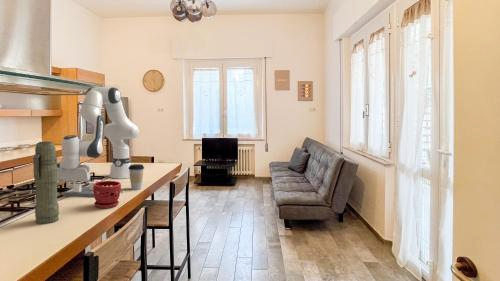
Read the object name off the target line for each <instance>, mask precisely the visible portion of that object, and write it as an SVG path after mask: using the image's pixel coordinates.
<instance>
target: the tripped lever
mask: <svg viewBox="0 0 500 281" xmlns="http://www.w3.org/2000/svg"><path fill="white" fill-rule="evenodd" d="M72 184H73V183H72ZM81 186H82V183H76V184H73V187H74V192H81V191H82V188H81Z"/></svg>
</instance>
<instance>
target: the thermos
mask: <svg viewBox="0 0 500 281" xmlns="http://www.w3.org/2000/svg"><path fill="white" fill-rule="evenodd" d="M56 149H57V148H56V146H55V143H54V142H52V141H39V142H37V143H36V145H35V148H34V155H33V157H32V159H33V163H32V165H33V179H34V184H35V195H36V196H35V201H36V202H35V206H34V214H35V215H34V217H35V223H36V224H37V225H38V224H39V225H49V224H52V223H56V222H58V221H59V214H60V209H59V208H60V206H59V203H58V185H57V184H58V182H59V180H58V169H57V163H58V154H57V151H56Z"/></svg>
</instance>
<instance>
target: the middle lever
mask: <svg viewBox="0 0 500 281" xmlns="http://www.w3.org/2000/svg"><path fill="white" fill-rule="evenodd" d="M94 183H96V182H93V181H89V182H88V187H89V190H93V184H94Z"/></svg>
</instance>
